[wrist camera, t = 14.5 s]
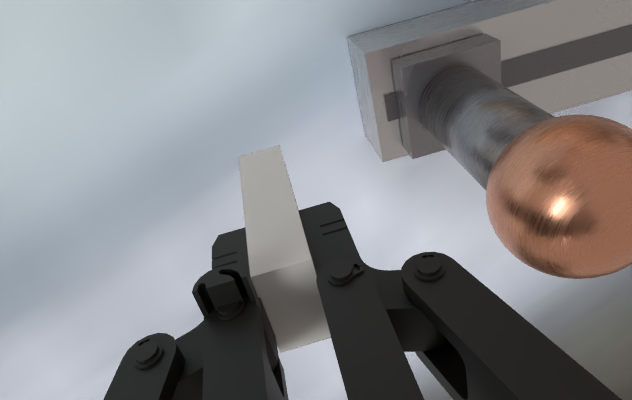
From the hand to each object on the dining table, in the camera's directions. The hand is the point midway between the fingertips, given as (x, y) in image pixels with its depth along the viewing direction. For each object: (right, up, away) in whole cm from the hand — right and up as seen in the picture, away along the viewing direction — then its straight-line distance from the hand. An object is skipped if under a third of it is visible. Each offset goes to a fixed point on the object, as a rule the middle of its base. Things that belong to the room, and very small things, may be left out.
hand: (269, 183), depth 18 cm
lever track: (+11, +7, +6) cm, 15 cm away
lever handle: (+7, +4, +3) cm, 9 cm away
